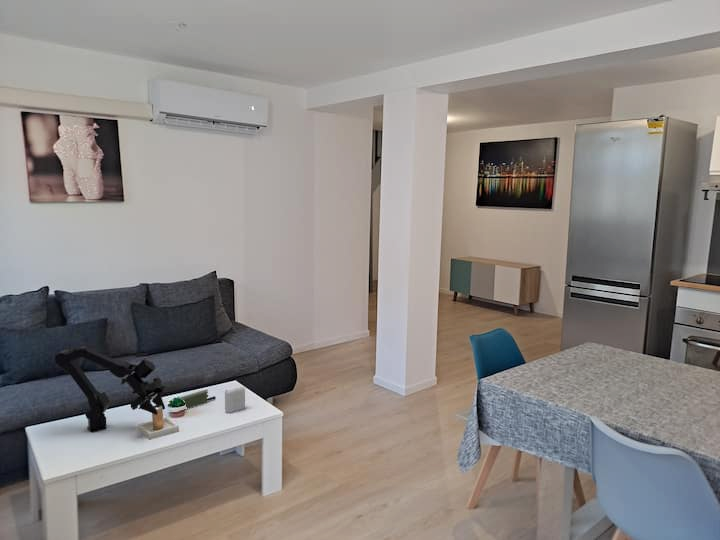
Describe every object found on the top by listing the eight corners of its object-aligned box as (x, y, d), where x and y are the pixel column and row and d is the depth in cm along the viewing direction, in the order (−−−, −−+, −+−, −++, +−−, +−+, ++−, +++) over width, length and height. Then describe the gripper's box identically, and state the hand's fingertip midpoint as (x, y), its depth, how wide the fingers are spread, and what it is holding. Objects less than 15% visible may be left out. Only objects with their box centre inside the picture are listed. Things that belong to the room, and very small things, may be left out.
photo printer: (241, 406, 266) (241, 382, 265) (246, 408, 263) (246, 384, 262) (223, 411, 259) (223, 387, 258) (228, 414, 256) (227, 389, 255)
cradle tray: (149, 439, 227) (149, 433, 226) (138, 429, 236) (138, 424, 236) (178, 431, 235) (178, 425, 235) (167, 422, 245) (166, 417, 245)
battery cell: (157, 431, 233) (156, 409, 231) (150, 429, 235) (149, 407, 233) (165, 427, 236) (164, 406, 235) (158, 425, 238) (157, 404, 237)
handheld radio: (169, 412, 258) (213, 398, 277) (173, 414, 255) (217, 400, 275) (169, 399, 257) (213, 386, 276) (173, 401, 255) (217, 388, 274)
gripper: (135, 380, 225) (159, 407, 224) (161, 367, 243) (183, 393, 242) (120, 396, 227) (143, 423, 226) (146, 382, 245) (168, 408, 244)
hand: (160, 411), depth 234 cm, fingers open, 5 cm apart
